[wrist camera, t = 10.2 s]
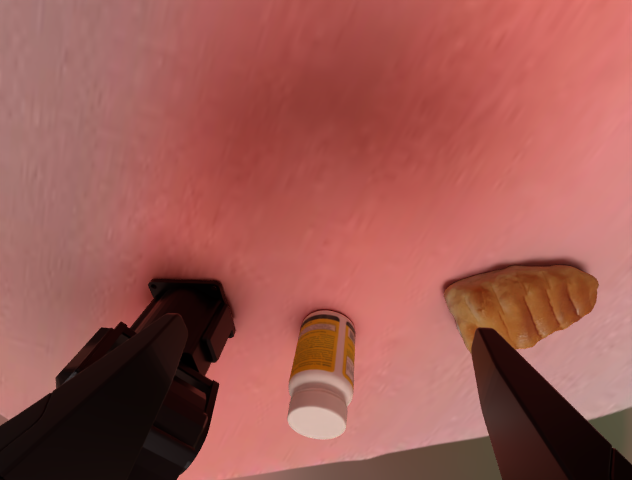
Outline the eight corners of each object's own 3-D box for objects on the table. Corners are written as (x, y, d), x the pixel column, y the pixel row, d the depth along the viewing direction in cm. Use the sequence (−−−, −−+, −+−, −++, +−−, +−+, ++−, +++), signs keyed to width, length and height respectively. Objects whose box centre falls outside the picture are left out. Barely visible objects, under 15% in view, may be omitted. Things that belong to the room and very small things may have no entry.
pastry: (575, 235, 21) (612, 271, 18) (593, 304, 24) (627, 346, 21) (434, 282, 25) (444, 319, 22) (463, 338, 28) (476, 378, 24)
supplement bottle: (292, 329, 29) (268, 422, 22) (321, 299, 27) (304, 393, 20) (335, 353, 30) (325, 450, 23) (367, 327, 28) (366, 426, 21)
